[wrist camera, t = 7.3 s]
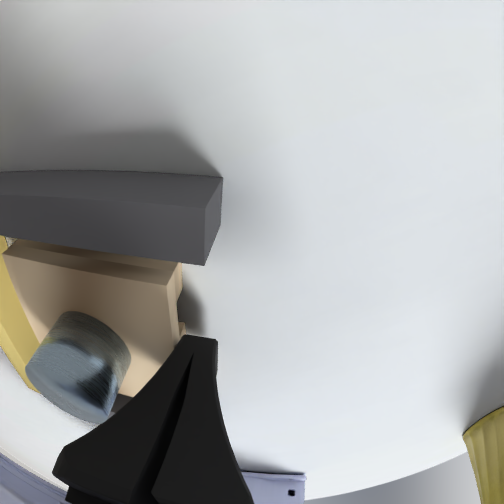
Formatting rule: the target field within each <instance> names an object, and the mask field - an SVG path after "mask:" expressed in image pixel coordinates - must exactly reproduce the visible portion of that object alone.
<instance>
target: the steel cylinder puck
mask: <svg viewBox="0 0 504 504" xmlns="http://www.w3.org/2000/svg"><path fill="white" fill-rule="evenodd" d="M130 364H131V354H130V351H129V349H128V347H127V346H126V344H125V343H124V341H123V340H122V339H121V338H120V337H119V336H118V335H117V334H116V333H115V332H114V331H113V330H112V329H111V328H110V327H108V326H107V325H106V324H104V323H103V322H101V321H99V320H98V319H96V318H94V317H92V316H90V315H87V314H85V313H81V312H77V311H67V312H64V313H62V314H61V315H60V317H59V318H58V319H57V321H56V322H55V324H54V325H53V326H52V328H51V329H50V331H49V332H48V334H47V335H46V336H45V338H44V339H43V341H42V342H41V344H40V345H39V347H38V348H37V350H36V351H35V353H34V354H33V356H32V357H31V359H30V361H29V362H28V364H27V365H26V367H25V372H26V375H27V377H28V379H29V380H30V382H31V383H32V384H33V386H34V387H35V388H36V389H37V390H38V391H39V392H40V393H41V394H42V395H43V396H44V397H45V398H47V399H48V400H49V401H50V402H52V403H53V404H54V405H56V406H57V407H59V408H60V409H62V410H64V411H65V412H67V413H69V414H71V415H73V416H75V417H77V418H79V419H82V420H85V421H88V422H92V423H103V422H105V421H106V420H107V418H108V416H109V413H110V411H111V408H112V406H113V404H114V401H115V399H116V396H117V394H118V392H119V389H120V387H121V385H122V382H123V380H124V378H125V375H126V373H127V371H128V368H129V366H130Z"/></svg>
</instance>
